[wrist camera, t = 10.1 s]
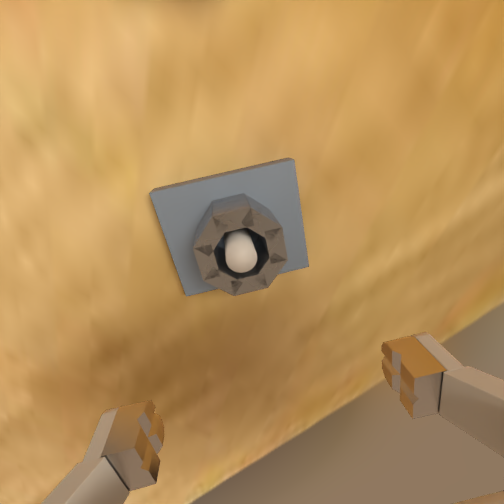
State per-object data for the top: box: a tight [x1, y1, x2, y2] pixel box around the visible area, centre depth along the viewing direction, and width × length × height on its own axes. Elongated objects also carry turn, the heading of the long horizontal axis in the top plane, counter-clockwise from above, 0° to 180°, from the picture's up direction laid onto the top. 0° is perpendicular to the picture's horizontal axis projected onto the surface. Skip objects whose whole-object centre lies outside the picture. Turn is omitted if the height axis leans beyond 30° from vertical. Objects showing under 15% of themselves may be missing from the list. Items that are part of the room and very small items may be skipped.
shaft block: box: [149, 158, 309, 296], centre depth 23 cm, size 12×10×8 cm
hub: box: [193, 193, 288, 296], centre depth 22 cm, size 6×6×5 cm
